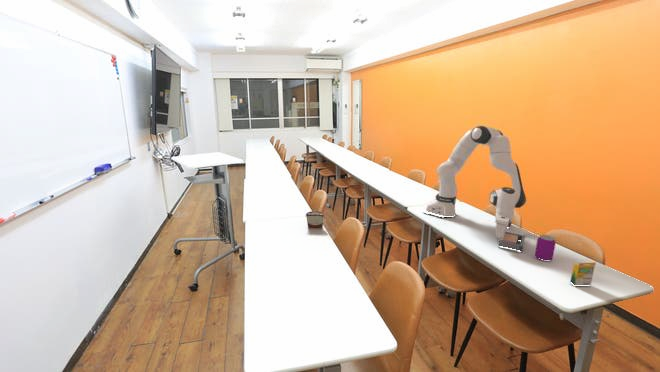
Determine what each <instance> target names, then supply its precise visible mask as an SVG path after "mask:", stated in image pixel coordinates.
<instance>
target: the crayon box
mask: <svg viewBox="0 0 660 372" xmlns="http://www.w3.org/2000/svg"><path fill="white" fill-rule="evenodd" d="M595 267H596V262H580V263H573V267H572V271H571V277H570V281H569V283H570V282H572V283H573V284H574V285H591V286H592V281H593V276H594V270H595Z"/></svg>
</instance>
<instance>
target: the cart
mask: <svg viewBox="0 0 660 372" xmlns="http://www.w3.org/2000/svg"><path fill="white" fill-rule="evenodd" d="M501 241H505V242H509V243H514V244H517V243H518V236H517V235H512V234H507V233H505V234H504V237H503V238H502V240H501Z"/></svg>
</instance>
